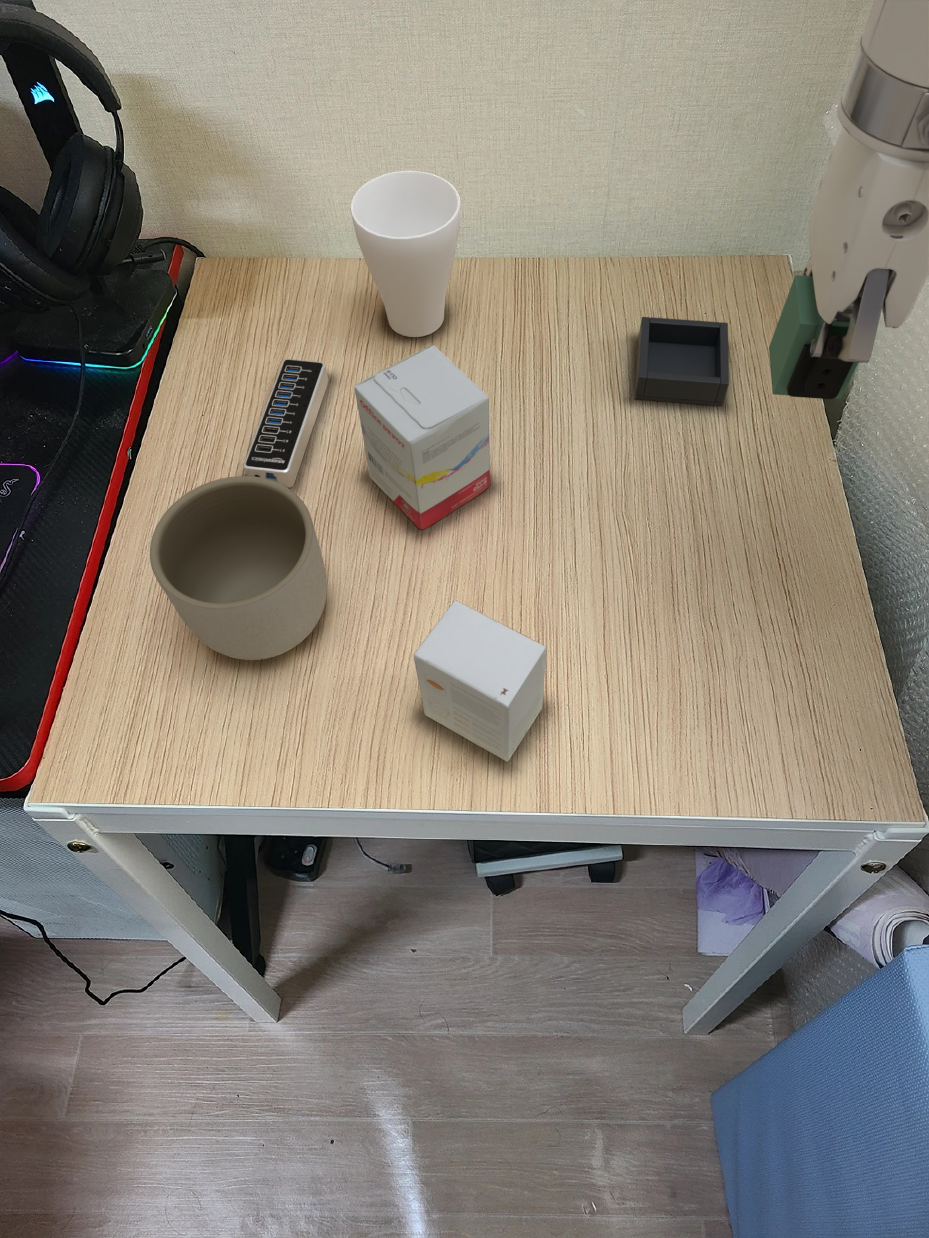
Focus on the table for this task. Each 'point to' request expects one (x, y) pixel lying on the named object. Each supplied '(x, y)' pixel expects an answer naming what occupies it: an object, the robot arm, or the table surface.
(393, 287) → the cup
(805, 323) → the pad block
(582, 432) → the table surface
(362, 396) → the ink box
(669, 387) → the socket
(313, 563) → the planter
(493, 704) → the small box
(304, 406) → the multiport hub
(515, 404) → the table surface
